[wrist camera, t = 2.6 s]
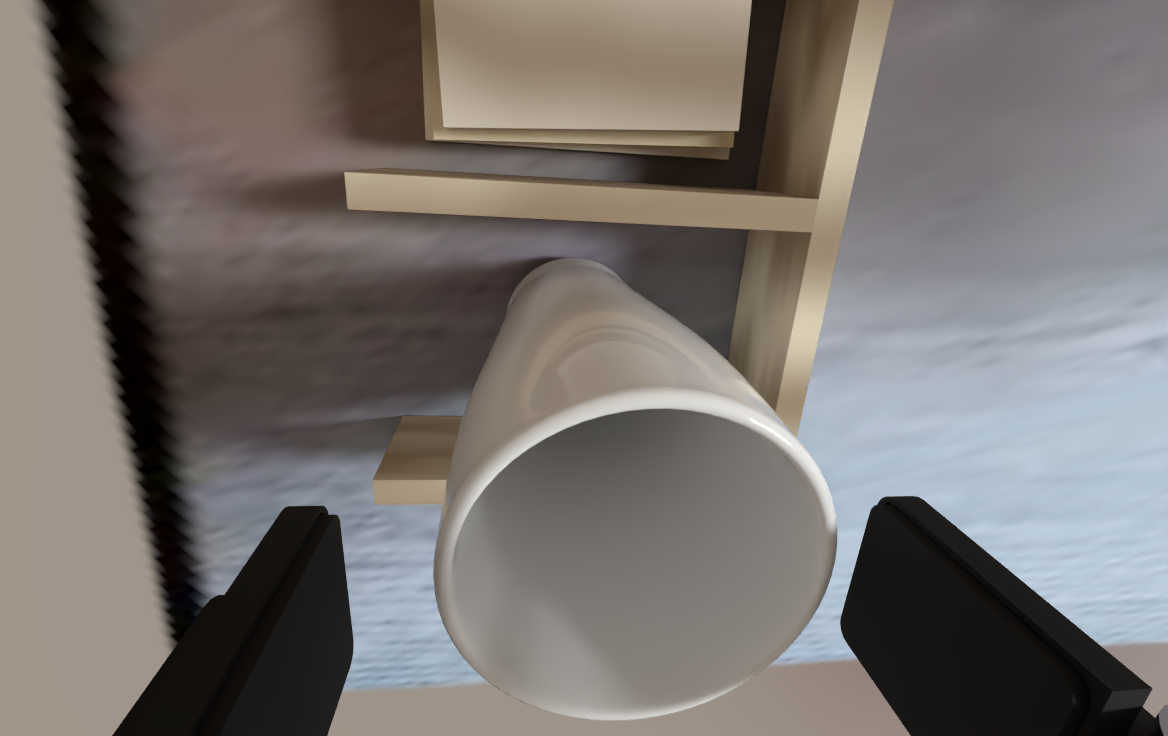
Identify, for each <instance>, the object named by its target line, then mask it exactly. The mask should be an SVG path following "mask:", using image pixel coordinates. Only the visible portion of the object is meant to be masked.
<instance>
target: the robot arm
mask: <svg viewBox="0 0 1168 736" xmlns="http://www.w3.org/2000/svg"><path fill="white" fill-rule="evenodd" d="M840 624H841V631H842V634H843V637H844V639H845V641H846V642H847V644H848V645H849V647H850V648H851V650H852V651H853V652H854V654H855V655H856V657H857V658H858V660H859V661H860V662H861V664H862V666H863V667H864V668H865V670H866V671H867V673H868V674H869V676H870V677H871V679H872V680H873V681H874V683H875V684H876V686H877V687H878V689H879V690H880V692H881V693H882V695H883V696H884V697H885V699H886V700H887V702H888V703H889V705H890V706H891V708H892V709H893V710H894V712H895V713H896V715H897V716H898V717H899V719H900V721H901V722H902V724H903V725H904V726H905V728H906V729H907V731H908V732H909V734H910V735H911V736H1168V705H1165V706H1164V707H1163V708H1162V709H1161V711H1160V712H1159V713H1158V715H1157V717H1156V718H1154V717H1153V716H1152V715H1151V714H1150V713H1149V712H1148V711H1146V710H1145V709H1144V708H1143V705H1144V703H1145V701H1146V699H1147V698H1148V696H1149V694H1150V692H1151V690H1152V688H1151V687H1150V686H1148V685H1147V684H1146V683H1145V682H1144V681H1143V680H1141V679H1140V678H1139V677H1138V676H1136V675H1135V674H1134V673H1133V672H1132V671H1130V670H1129V669H1128V668H1127V667H1126V666H1124V665H1123V664H1122V663H1121V662H1119V661H1118V660H1117V659H1116V658H1115V657H1113V656H1112V655H1111V654H1110V653H1109V652H1107V651H1106V650H1105V649H1104V648H1102V647H1101V646H1100V645H1099V644H1098V643H1096V642H1095V641H1094V640H1093V639H1092V638H1090V637H1089V636H1088V635H1087V634H1085V633H1084V632H1083V631H1082V630H1081V629H1079V628H1078V627H1077V626H1076V625H1075V624H1073V623H1072V622H1071V621H1070V620H1068V619H1067V618H1066V617H1065V616H1064V615H1062V614H1061V613H1060V612H1059V611H1058V610H1056V609H1055V608H1054V607H1053V606H1051V605H1050V604H1049V603H1048V602H1047V601H1045V600H1044V599H1043V598H1042V597H1041V596H1039V595H1038V594H1037V593H1036V592H1034V591H1033V590H1032V589H1031V588H1030V587H1028V586H1027V585H1026V584H1025V583H1024V582H1022V581H1021V580H1020V579H1019V578H1018V577H1016V576H1015V575H1014V574H1013V573H1011V572H1010V571H1009V570H1008V569H1007V568H1005V567H1004V566H1003V565H1002V564H1001V563H999V562H998V561H997V560H996V559H994V558H993V557H992V556H991V555H990V554H988V553H987V552H986V551H985V550H984V549H982V548H981V547H980V546H979V545H977V544H976V543H975V542H974V541H973V540H971V539H970V538H969V537H968V536H967V535H965V534H964V533H963V532H962V531H960V530H959V529H958V528H957V527H956V526H954V525H953V524H952V523H951V522H950V521H948V520H947V519H946V518H945V517H943V516H942V515H941V514H940V513H939V512H937V511H936V510H935V509H934V508H933V507H931V506H930V505H929V504H928V503H926V502H925V501H924V500H923V499H921V498H919V497H915V496H896V497H884V498H882V499H881V500H880V501H879V502H878V505H876V506H874V507H873V508H872V509H871V511H870V514H869V518H868V521H867V525H866V529H865V532H864V536H863V540H862V543H861V547H860V550H859V554H858V558H857V561H856V565H855V568H854V572H853V576H852V579H851V583H850V587H849V590H848V594H847V597H846V601H845V605H844V608H843V612H842V615H841V621H840ZM352 656H353V633H352V624H351V616H350V607H349V598H348V589H347V580H346V571H345V562H344V553H343V545H342V536H341V527H340V520H339V517H338V516H337V515H328V511H327V509H326V507H324V506H288V507H285V508H284V509H283V510H282V511H281V513H280V514H279V516H278V517H277V519H276V520H275V522H274V523H273V525H272V526H271V528H270V529H269V530H268V532H267V533H266V535H265V536H264V538H263V539H262V541H261V542H260V544H259V545H258V547H257V548H256V550H255V551H254V552H253V554H252V555H251V557H250V558H249V560H248V561H247V563H246V564H245V566H244V567H243V569H242V570H241V571H240V573H239V574H238V576H237V577H236V579H235V580H234V582H233V583H232V585H231V586H230V588H229V589H228V591H227V592H226V593H225V595H218V596H216V597H214V598H212V599H211V600H210V601H209V602H208V603H207V604H206V605H205V606H204V608H203V609H202V610H201V612H200V613H199V614H198V616H197V617H196V619H195V620H194V622H193V623H192V624H191V626H190V627H189V629H188V630H187V631H186V633H185V634H184V636H183V637H182V638H181V640H180V641H179V643H178V644H177V645H176V647H175V648H174V650H173V651H172V652H171V654H170V655H169V657H168V658H167V660H166V661H165V662H164V664H163V665H162V667H161V668H160V669H159V671H158V672H157V674H156V675H155V676H154V678H153V679H152V681H151V682H150V684H149V685H148V686H147V688H146V689H145V691H144V692H143V693H142V695H141V696H140V698H139V699H138V700H137V702H136V703H135V705H134V706H133V707H132V709H131V710H130V712H129V713H128V714H127V716H126V717H125V719H124V720H123V721H122V723H121V724H120V726H119V727H118V728H117V730H116V731H115V733H114V734H113V735H112V736H327V735H328V731H329V728H330V725H331V722H332V720H333V716H334V714H335V710H336V708H337V705H338V701H339V699H340V696H341V693H342V690H343V687H344V684H345V681H346V678H347V675H348V672H349V669H350V665H351V661H352Z"/></svg>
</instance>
